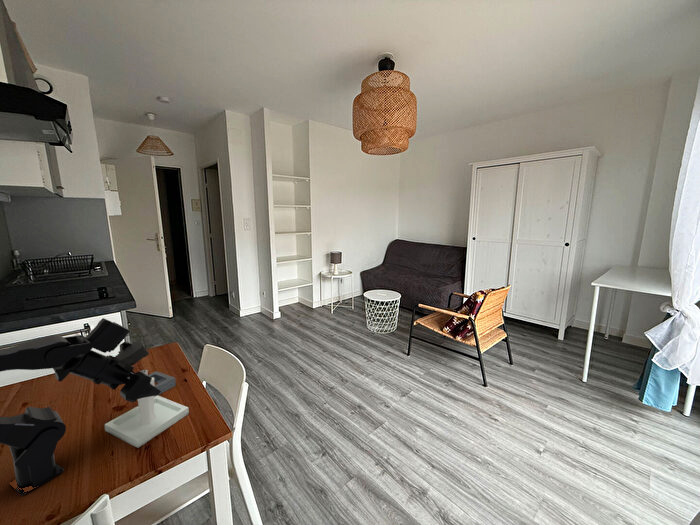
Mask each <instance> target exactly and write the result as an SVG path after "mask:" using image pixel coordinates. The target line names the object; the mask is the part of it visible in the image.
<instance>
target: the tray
mask: <svg viewBox="0 0 700 525" xmlns="http://www.w3.org/2000/svg"><path fill="white" fill-rule="evenodd" d="M189 412H190V411H189V407H188V406H185V405H183V404H180V403H178V402H175V401H172V400H170V399H169V398H165V397H163V396H160V395H157V396H155V397H154V414H155V416H156V419H155V420H154V421H153V422H152V423H151V424H148V425H143V426H140V418H141V416H140V411H139V406H138V405H137V406H135V407H133V408H132V409H129V411H126V412H125V413H122V414H121V415H119V416H117V417H116V418H113V419H112V420H110V421H109V422H108V421H107V422H106V423H104V431H105V432H107V433H108V434H110V435H112V436H114V437H116V438H118V439H120V440H121V441H124V442H125V443H127V444H129V445H131V446H132V447H135V448H137V449H138V448H140V447H142V446H143V445H145V444H146V443H148V442H150V440H152V439H154V438H155V437H156V436H158V435H160V434H161V433H163V432H164V431H165V430H167V429H168V428H170V427H171V426H173V425H174V424H176V423H177V422H179V421H180V420H181V419H183V418H185V417H186V416H188V415H189V414H190V413H189Z"/></svg>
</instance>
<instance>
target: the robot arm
mask: <svg viewBox="0 0 700 525" xmlns="http://www.w3.org/2000/svg"><path fill="white" fill-rule="evenodd" d="M131 332H132V331H131V329H128V328H126V327H125V326H123V325H122V324H119V323H117V322H116V321H111V320H108V319H107V318H105V317H103V318H101V319H100V320H99V321H98V323H97V324H96V326H95V327H94V328H93V329H92V330H90V332H89V333H88V334H87V335H84V334H80V335H79V334H78V335H71V336H64V337H63V336H61V335H58V334H54V335H53V334H52V335H51V334H50V335H47V336H44V337H38V338H35V339H32V340H28V341H25V342H22V343H20V344H17V345H13V346H9V347H5V348H0V372H6V371H15V370H17V371H18V370H22V371H23V370H24V371H35V370H36V371H37V370H47V369H48V370H49V369H53V371H54V377H55V379H56V380H57V381H58V382H62V381H64V380H65V378H66V377H68V375H69V374H71V375H74V376H76V377H81V378H83V379H86V380H89V381H91V382H93V383H94V384H95V385H98V386H99V385H100V384H101V385H104V386H108V387H109V388H110V389H111V390H116V389H118V387H119V386H121V385H123V386H122V387H121V389H120V390H119V394H120V396H119V397H121V398H123V399H124V400H125V401H126V402H130V403H135V402H136V401H138V400H137V399H141V398H145V397H150V396H156V395H158V396H160V395H161V394H160V392H161V391H160V390H159V389H157V388H156V387H154V386H155V385H154V386H153V385H152V384H150V382H151V380H152V377H150V376H149V374H148V375H147V374H145V373H143V372H140V371H141V370H139V371H136V372H135V371H134V369H135V366H134V365H136V364H137V363H138V362H140V361H141V360H142V359H144V358H146V357H148V355H149V354H150V352H149V351H148V349H147V348H146V347H145V345H144V344H142V343H141V342H139V341H132V342H129V341H124V339H125V338H126V337H127V336H128V335H129V334H130V333H131ZM118 346H119V351H118V354H117V355H115V356H114V355H110V354H109V355H104V354H106V353H107V352H108V353H111V352H112V351H115V349H117V348H118ZM93 349H94V350H97V352H96V351H94V350H93ZM98 351H99V352H98ZM100 352H101V353H100ZM102 353H104V354H102ZM159 394H160V395H159ZM66 431H67V427H66V424H65V423H64V421H63V419H62V417H61V416H60V414H59V412H57V411H55V410H53V409H52V408H51V406H48V407H42V408H40V407H39V408H38V407H33V406H27V407H26V408H25V410H24V412H23V413H21V414H18V415H13V416H0V444H1V445H5V446H8V447H9V450H10V454H11V457H12V463H13V469H14V476H15V479H16V482H17V486H18V487H19V488H21V489H22V488H25V487H29V486H32V487H33V488H34V487H37V486H39V487H40V486H42V485H44V484H45V483H47V482H49V481H50V480H52V479H54V478H55V477H56V476H58V475H60V474H61V473H63V472H64V471H65V469H64V467H62V465H61V466H60V465H59V464H58V463H56V458H55V451H56V448H57V445H58V443H59V441H61V439H62V438H63V437H64V436H65V434H66ZM43 483H44V484H43ZM41 484H42V485H41ZM18 487H17V488H18ZM17 488H16V490H17V491H18V492H20V493H21V494H22V495H21V494H20V495H21V496H25V495H24V494H25V493H27V492H28V491H27V492H24V490H23V489H22V490H20V489H19V488H18V489H19V490H18V489H17ZM37 488H38V487H37ZM16 490H15V491H16ZM17 491H16V492H17ZM18 492H17V493H18ZM23 492H24V493H23ZM27 494H28V493H27Z"/></svg>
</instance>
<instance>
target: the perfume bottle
mask: <svg viewBox="0 0 700 525" xmlns="http://www.w3.org/2000/svg"><path fill="white" fill-rule="evenodd" d="M139 371H140V372H143V373H145V374H147V375H149V374H148V373H149V372H148V371H149V369H143V370H139ZM150 384H152V385H153V386H155V382H154V378H153V377H152V380H151V382H150ZM136 401H137V406H139V411H140V416H141V418H140V426H143V425H148V424H151V423H152V422H153V421H154V420H155V419H156V416H155V414H154V396H150V397H145V398H141V399H137V400H136Z"/></svg>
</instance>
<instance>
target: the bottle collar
mask: <svg viewBox="0 0 700 525" xmlns="http://www.w3.org/2000/svg"><path fill="white" fill-rule="evenodd" d="M148 375H149V376H150V377H153V378H154V383H157V384H154V387H156V388H157V389H159V390H160V391H161V392H160V394H159V395H158V396H160V395H162V394H163V393H165V392H167V391H168V390H170V389H172V388H174V387H176V377H174V376H171V375H168V374H165V373H163V372H160V371H153V372H152V373H149V374H148ZM156 396H157V395H156ZM154 397H155V396H154Z"/></svg>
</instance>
